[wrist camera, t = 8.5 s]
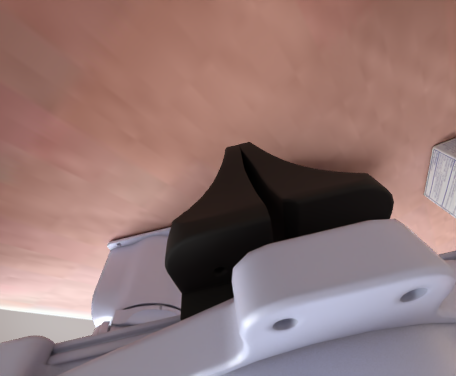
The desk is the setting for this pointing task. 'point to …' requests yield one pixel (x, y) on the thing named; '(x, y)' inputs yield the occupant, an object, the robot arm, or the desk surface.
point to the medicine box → (443, 176)
